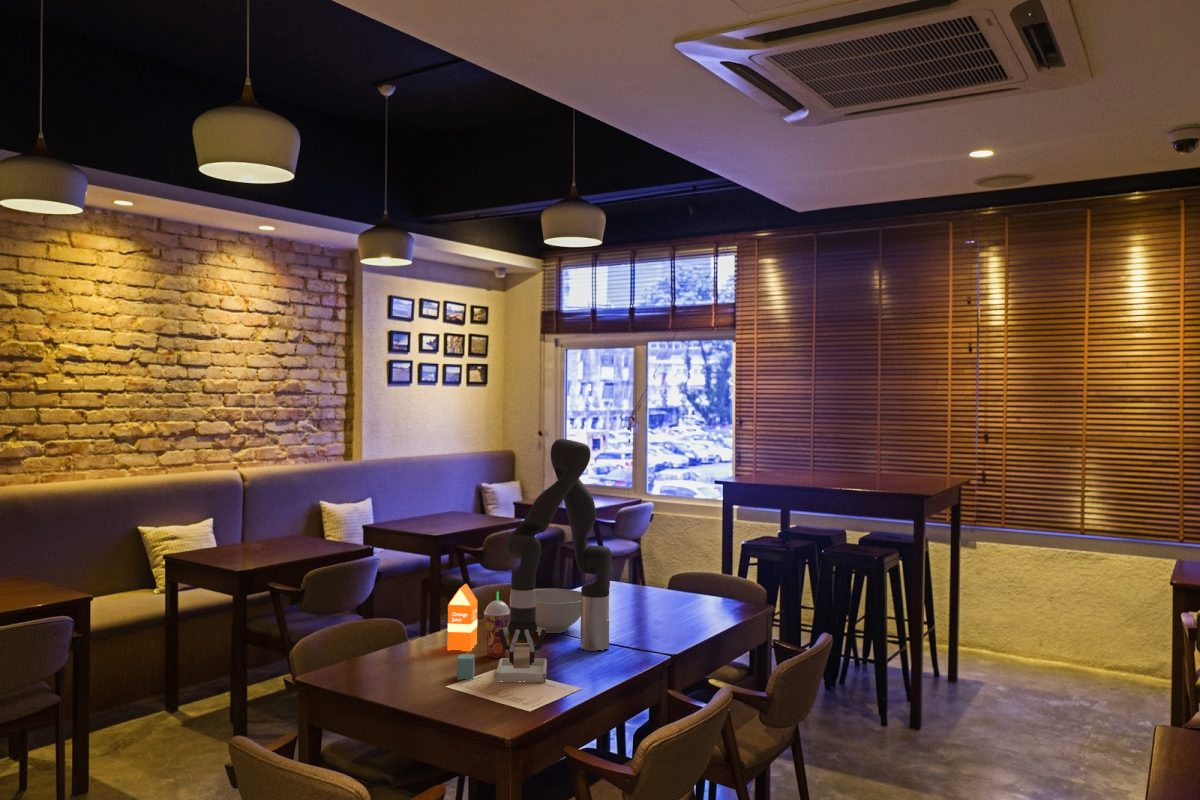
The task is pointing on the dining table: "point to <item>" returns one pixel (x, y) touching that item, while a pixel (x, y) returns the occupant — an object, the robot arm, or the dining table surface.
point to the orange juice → (462, 620)
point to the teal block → (465, 666)
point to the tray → (522, 671)
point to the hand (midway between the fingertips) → (521, 664)
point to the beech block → (521, 655)
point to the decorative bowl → (557, 609)
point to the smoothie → (496, 627)
